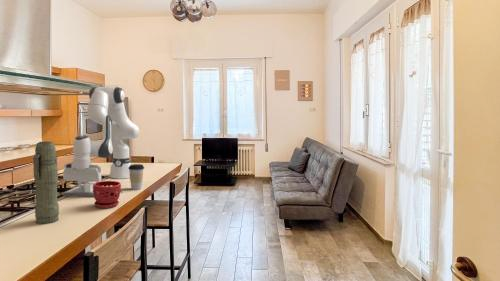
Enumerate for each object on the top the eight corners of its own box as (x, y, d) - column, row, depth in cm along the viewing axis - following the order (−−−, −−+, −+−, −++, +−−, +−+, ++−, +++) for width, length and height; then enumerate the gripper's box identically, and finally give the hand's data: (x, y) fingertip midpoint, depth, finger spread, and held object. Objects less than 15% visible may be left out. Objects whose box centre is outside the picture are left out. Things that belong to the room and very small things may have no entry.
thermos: (28, 224, 142) (25, 143, 139) (46, 216, 154) (43, 140, 151) (48, 225, 142) (46, 143, 139) (64, 216, 154) (63, 141, 150)
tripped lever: (86, 191, 192) (86, 183, 191) (92, 191, 192) (92, 183, 191) (84, 192, 189) (84, 184, 189) (90, 192, 189) (90, 184, 189)
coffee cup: (129, 191, 203) (129, 166, 202) (127, 187, 212) (127, 164, 210) (145, 189, 208) (145, 166, 206) (142, 186, 216) (142, 163, 215)
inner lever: (95, 186, 203) (95, 179, 202) (100, 187, 203) (100, 179, 202) (93, 187, 200) (93, 180, 200) (98, 188, 200) (98, 180, 200)
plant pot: (93, 210, 164) (92, 186, 163) (93, 203, 176) (93, 181, 175) (121, 208, 169) (121, 185, 168) (120, 201, 181) (120, 179, 180)
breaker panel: (77, 189, 204) (77, 186, 204) (107, 190, 204) (107, 186, 204) (63, 196, 188) (63, 192, 188) (95, 197, 188) (95, 193, 188)
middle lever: (91, 189, 197) (91, 181, 197) (96, 189, 197) (96, 181, 197) (89, 190, 195) (89, 182, 194) (94, 190, 195) (94, 182, 194)
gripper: (103, 164, 192) (103, 187, 193) (67, 163, 192) (68, 186, 193) (98, 166, 186) (98, 190, 187) (61, 164, 186) (61, 189, 187)
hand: (82, 188), depth 190 cm, fingers closed
